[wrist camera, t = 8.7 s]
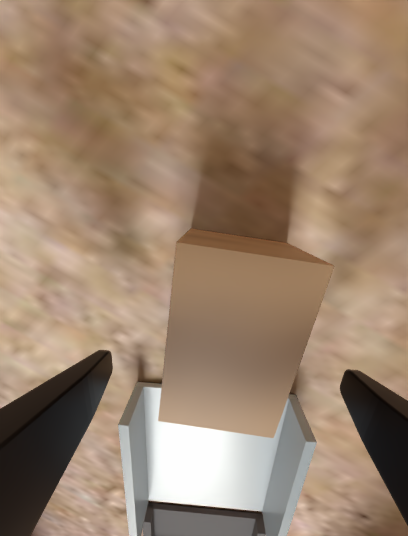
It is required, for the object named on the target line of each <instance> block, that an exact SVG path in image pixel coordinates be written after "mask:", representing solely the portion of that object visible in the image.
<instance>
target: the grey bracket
mask: <svg viewBox="0 0 408 536" xmlns="http://www.w3.org/2000/svg"><path fill="white" fill-rule="evenodd" d="M161 387H162V384H158V383H146V382H137V383H136V385H135V388H134V390H133V392H132V395H131V397H130V399H129V401H128V404H127V406H126V408H125V411H124V413H123V415H122V418H121V420H120V422H119V424H118V427H119V437H120V447H121V457H122V468H123V478H124V488H125V498H126V508H127V518H128V528H129V536H141V533H142V528H143V524H144V519H145V514H146V510H147V505H148V501H159V502H169V503H180V504H190V505H200V506H210V507H221V508H231V509H241V510H251V511H262V513H263V520H264V526H265V532H266V536H287V534H288V531H289V527H290V524H291V521H292V518H293V515H294V512H295V509H296V506H297V502H298V499H299V496H300V493H301V490H302V487H303V484H304V481H305V477H306V474H307V471H308V468H309V465H310V462H311V459H312V456H313V452H314V449H315V446H316V443H317V442H316V440H315V437H314V435H313V433H312V431H311V428H310V426H309V424H308V421H307V419H306V417H305V415H304V412H303V410H302V408H301V405H300V403H299V401H298V399H297V396H296V395H292V394H289V396H288V399H287V402H286V405H285V407H284V410H283V413H282V416H281V419H280V422H279V424H278V427H277V430H276V433H275V436H274V438H268V437H261V436H255V435H248V434H241V433H235V432H228V431H221V430H215V429H208V428H201V427H194V426H188V425H181V424H174V423H168V422H161V421H158V416H159V407H160V397H161Z"/></svg>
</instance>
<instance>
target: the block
mask: <svg viewBox="0 0 408 536" xmlns="http://www.w3.org/2000/svg"><path fill="white" fill-rule="evenodd" d="M333 269H334V266H333V265H331V264H329V263H327V262H325V261H323V260H321V259H319V258H317V257H315V256H313V255H311V254H309V253H307V252H304V251H302V250H300V249H298V248H296V247H294V246H292V245H290V244H288V243H284V242H278V241H271V240H264V239H258V238H251V237H244V236H238V235H231V234H224V233H218V232H211V231H205V230H198V229H190V230H189V231H188V232H187V233H186V234H185V235H184V236H183V237H182V238H180V239H179V240H178V241H177V243H176V253H175V262H174V272H173V281H172V291H171V301H170V310H169V320H168V330H167V339H166V349H165V359H164V368H163V378H162V387H161V397H160V407H159V416H158V421H161V422H168V423H174V424H181V425H188V426H194V427H201V428H208V429H215V430H221V431H228V432H235V433H241V434H248V435H255V436H261V437H268V438H274V436H275V433H276V430H277V427H278V424H279V422H280V419H281V416H282V413H283V410H284V407H285V405H286V402H287V399H288V396H289V393H290V390H291V388H292V385H293V382H294V379H295V376H296V373H297V371H298V368H299V365H300V362H301V359H302V356H303V354H304V351H305V348H306V345H307V342H308V339H309V337H310V334H311V331H312V328H313V325H314V322H315V320H316V317H317V314H318V311H319V308H320V305H321V303H322V300H323V297H324V294H325V291H326V288H327V286H328V283H329V280H330V277H331V274H332V271H333Z"/></svg>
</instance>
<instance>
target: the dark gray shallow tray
mask: <svg viewBox="0 0 408 536" xmlns="http://www.w3.org/2000/svg"><path fill="white" fill-rule="evenodd" d="M143 536H266V532H265V526H264V520H263V514H259V513H249V512H238V511H228V510H218V509H208V508H197V507H187V506H177V505H167V504H157V503H148V505H147V510H146V514H145V519H144V524H143Z"/></svg>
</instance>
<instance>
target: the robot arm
mask: <svg viewBox="0 0 408 536" xmlns="http://www.w3.org/2000/svg"><path fill="white" fill-rule="evenodd" d="M112 369H113V366H112V356H111V352H110V351H108V350H99V351H97V352H95V353H93V354H92V355H90V356H88V357H87V358H85V359H83V360H82V361H80V362H78V363H77V364H75V365H73V366H72V367H70V368H68V369H66V370H65V371H63V372H61V373H60V374H58V375H56V376H55V377H53V378H51V379H50V380H48V381H46V382H45V383H43V384H41V385H40V386H38V387H36V388H34V389H33V390H31V391H29V392H28V393H26V394H24V395H23V396H21V397H19V398H18V399H16V400H14V401H13V402H11V403H9V404H8V405H6V406H4V407H2V408H1V409H0V536H30V535H31V534H32V532H33V530H34V528H35V526H36V524H37V522H38V520H39V519H40V517H41V515H42V513H43V511H44V509H45V507H46V505H47V503H48V502H49V500H50V498H51V496H52V494H53V492H54V490H55V488H56V487H57V485H58V483H59V481H60V479H61V477H62V475H63V473H64V471H65V470H66V468H67V466H68V464H69V462H70V460H71V458H72V456H73V454H74V453H75V451H76V449H77V447H78V445H79V443H80V441H81V439H82V438H83V436H84V434H85V432H86V430H87V428H88V426H89V424H90V422H91V420H92V418H93V416H94V414H95V412H96V410H97V407H98V405H99V403H100V400H101V398H102V395H103V393H104V391H105V388H106V386H107V383H108V381H109V379H110V376H111V374H112ZM340 391H341V394H342V397H343V399H344V401H345V404H346V406H347V408H348V410H349V413H350V415H351V417H352V419H353V422H354V424H355V426H356V428H357V431H358V433H359V435H360V437H361V439H362V441H363V443H364V445H365V447H366V449H367V451H368V453H369V455H370V457H371V458H372V460H373V462H374V464H375V466H376V468H377V470H378V471H379V473H380V475H381V477H382V479H383V481H384V483H385V485H386V486H387V488H388V490H389V492H390V494H391V496H392V498H393V499H394V501H395V503H396V505H397V507H398V509H399V511H400V512H401V514H402V516H403V518H404V520H405V522H406V524H407V525H408V401H407V400H405V399H404V398H402V397H401V396H399V395H397V394H396V393H394V392H393V391H391V390H389V389H388V388H386V387H385V386H383V385H381V384H380V383H378V382H377V381H375V380H373V379H372V378H370V377H369V376H367V375H365V374H364V373H362V372H361V371H358V370H350V369H348V370H346V371H345V372H344V375H343V378H342V381H341V384H340Z"/></svg>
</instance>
